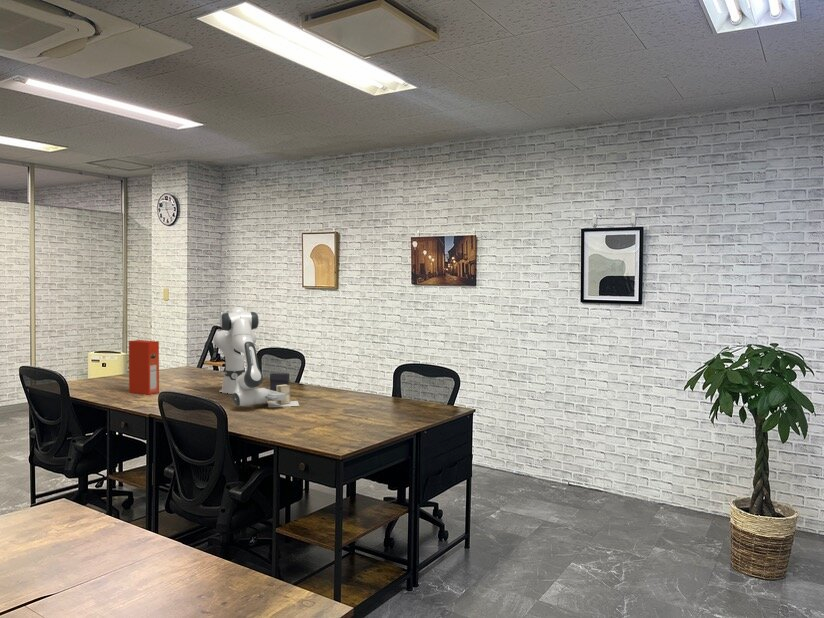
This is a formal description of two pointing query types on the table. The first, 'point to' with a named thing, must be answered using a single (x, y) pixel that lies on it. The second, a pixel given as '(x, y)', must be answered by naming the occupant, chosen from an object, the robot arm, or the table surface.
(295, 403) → the mat
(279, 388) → the block
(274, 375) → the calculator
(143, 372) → the file binder
